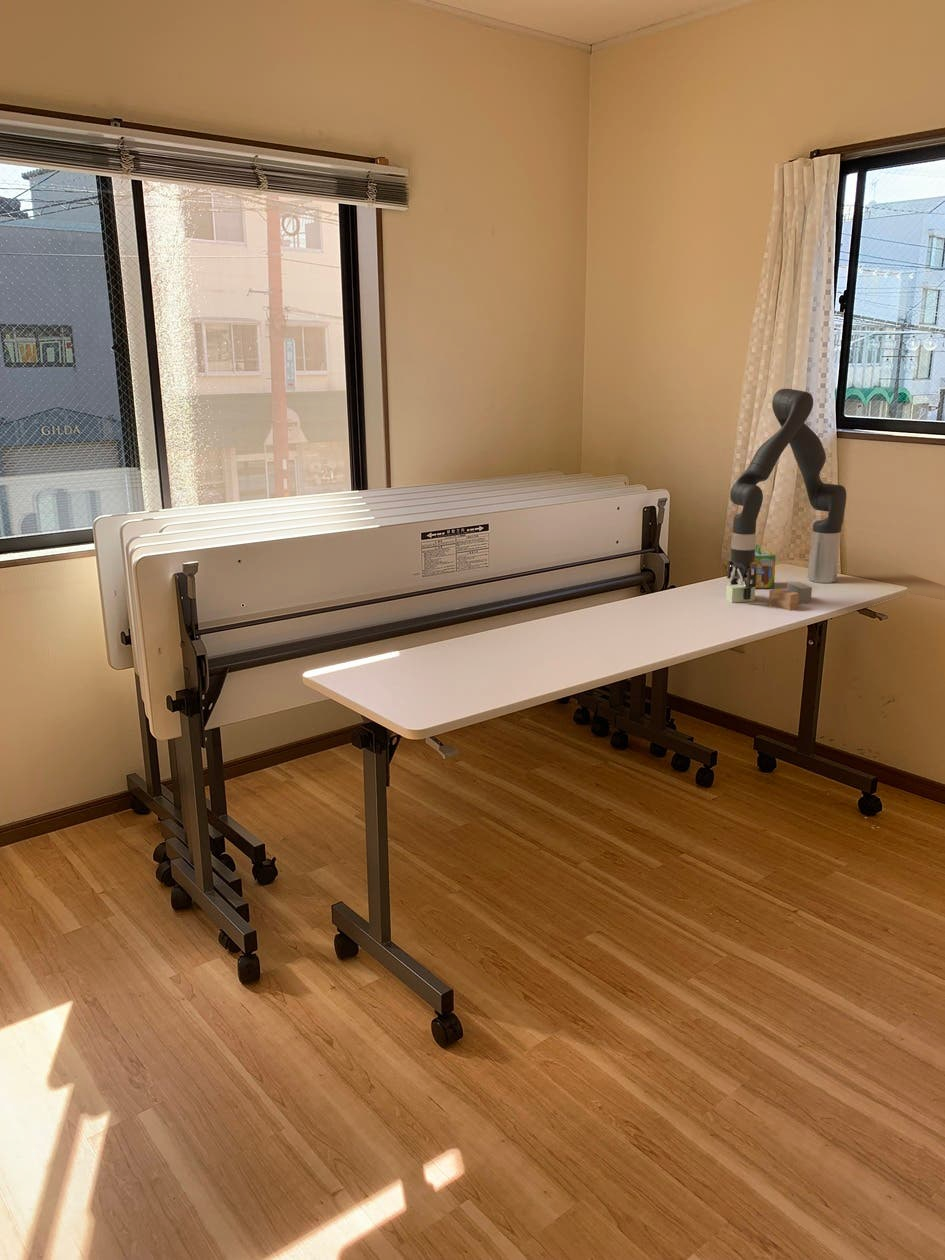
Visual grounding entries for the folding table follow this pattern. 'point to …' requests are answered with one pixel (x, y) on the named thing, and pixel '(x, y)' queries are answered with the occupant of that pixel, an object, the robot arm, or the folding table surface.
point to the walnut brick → (783, 599)
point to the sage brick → (738, 593)
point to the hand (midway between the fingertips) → (740, 596)
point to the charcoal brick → (801, 591)
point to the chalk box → (764, 568)
